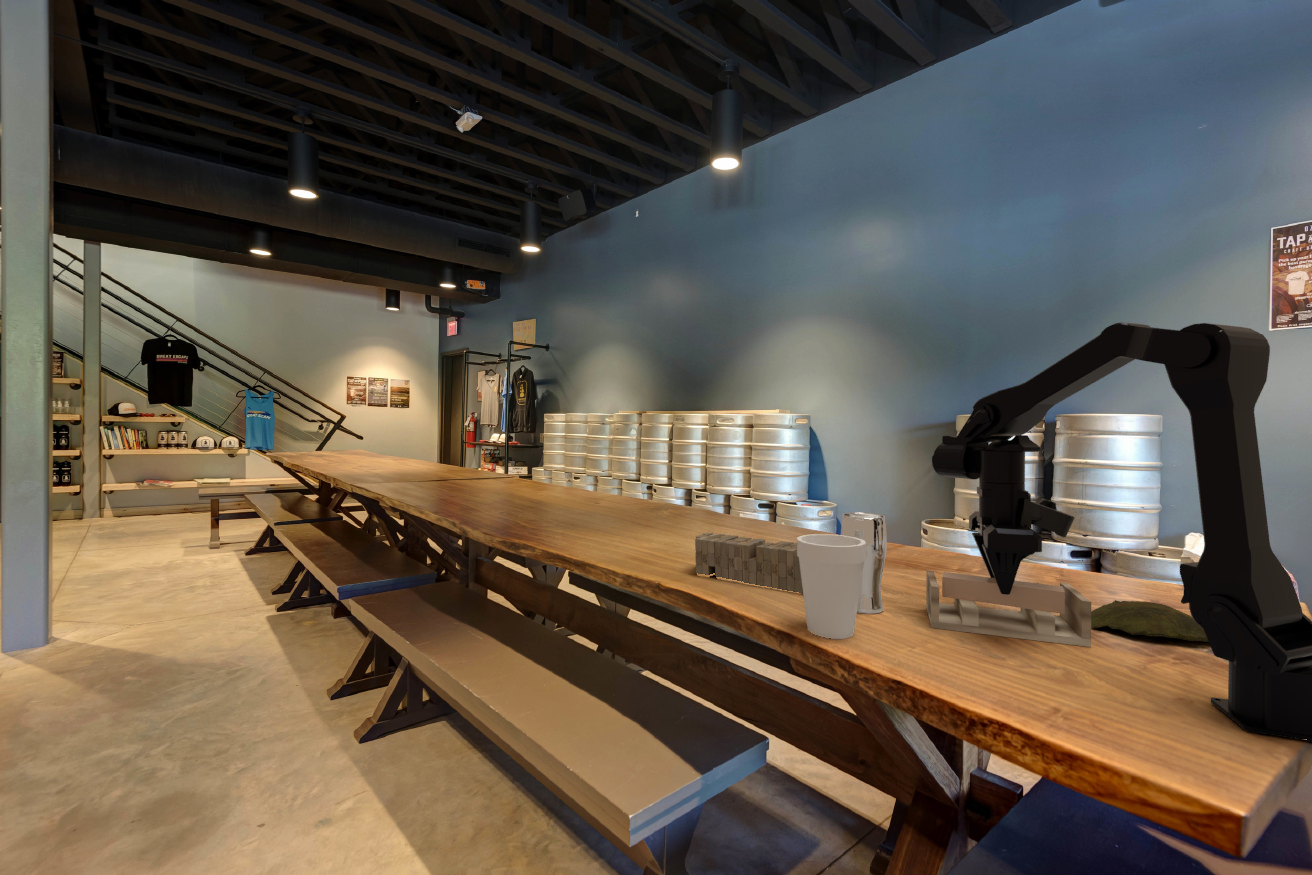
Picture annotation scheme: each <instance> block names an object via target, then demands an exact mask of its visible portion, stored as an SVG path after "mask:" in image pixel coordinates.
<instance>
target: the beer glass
mask: <svg viewBox="0 0 1312 875" xmlns="http://www.w3.org/2000/svg"><path fill="white" fill-rule="evenodd" d="M840 526H841V529H840V535H844V536H849V537H855V538H859V539H862V540H864V541H865V542H866V560H865V561H864V567H863V574H862V581H861V588H860V595H859V602H858V608H857V614H868V615H869V614H870V615H872V614H880V613H881V612H884V605H883V598H882V592H881V590H882V589H881V587H882V578H883V572H884V568H885V561H886V555H887V546H888V545H887V544H888V542H887V541H888V538H887V537H888V536H887V524H886V516H885V515H883V514H880V513H873V512H845V513H842V517H841V525H840Z"/></svg>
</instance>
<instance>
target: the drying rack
mask: <svg viewBox="0 0 1312 875" xmlns="http://www.w3.org/2000/svg"><path fill="white" fill-rule="evenodd" d="M1059 586H1063V589H1064V592H1065V614H1061V613H1059V614H1058V615H1056V614H1054V613H1053V612H1046V611H1039V610H1032V609H1025V608H1020V611H1017V610H1008V609H1007V610H1006V609H1002V608H1001V609H1000V608H990V607H981V606H978V604H977V603H976V601H969V600H962V599H955V598H953V601H954V602H953V603H954V604H953V603H944V602H943V603H941V602H940V586H939V583H938V580H937V577H936V575H935V571H931V570H926V587H925V588H926V595H925V596H926V599H925V600H926V603H925V604H926V605H925V607H926V611H927V612H926V613H927V616H928V620H929V623H930V628H931V629H940V630H946V631H956V632H964V633H970V634H971V633H973V634H979V635H987V636H996V637H1003V638H1004V637H1005V638H1014V639H1020V640H1021V639H1022V640H1029V641H1036V642H1037V641H1039V642H1047V643H1055V644H1061V645H1071V646H1080V647H1087V648H1091V647H1092V629H1091V612H1092V601H1091V600H1090V599H1089V598H1087V597H1086V596H1085V595H1083V593H1081V592H1080V591H1078V590H1077V589H1076V588H1075V587H1074V586H1072V585H1071V584H1070V583H1069V582H1059Z"/></svg>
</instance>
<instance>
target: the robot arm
mask: <svg viewBox="0 0 1312 875" xmlns="http://www.w3.org/2000/svg"><path fill="white" fill-rule="evenodd" d="M1270 346H1271V345H1270V344H1269V341H1268V339H1267V337H1266V336H1265V335H1264V334H1262V333H1260V332H1258V331H1256V330H1255V329H1253V328H1249V327H1243V326H1235V325H1226V324H1220V323H1218V324H1217V323H1208V322H1203V323H1202V322H1201V323H1193V324H1190V325H1188V326H1184V327H1182V328H1181V329H1178V330H1177V329H1170V328H1169V329H1168V328H1161V327H1160V328H1159V327H1151V326H1150V325H1148V324H1143V323H1136V322H1135V323H1134V322H1116V323H1113V324H1111V325H1109V326H1107V327H1105V328H1104V329H1103V330H1102V331H1101V333H1100V334H1099V335H1097V336H1096V337H1094V338H1092V339H1091V340H1089V341H1087V342H1086V343H1085V344H1083V345H1082V346H1081V345H1080V347H1078V348H1076V349H1075V350H1073V351H1072V352H1070V353H1068V355H1065V356H1064V357H1062V358H1060V360H1058V361H1056V362H1055V363H1053V364H1052V365H1050V366H1049V367H1047V368H1045V369H1044V370H1042V371H1040V372H1039V373H1038V374H1036V375H1035V376H1033V377H1031V378H1030V379H1028V380H1026V381H1025V382H1022V383H1020V384H1018V385H1014V386H1011V387H1007V388H1004V389H999V390H997V391H995V392H993V393H990V394H987V395H986V396H983V397H981V398H979V399H978V400H977V401H975V403H974V404H973V406H972V412H971V413H970V415H969V417H968V418H967V420H966V422H965V423H964V424H963V426H962V427H961V429H960V430H959V433H958V434H957V435H942V438H941V439H942V442H941V443H940V444H938V445H937V446H936V447H935V450H934V452H933V455H932V456H931V464H932V467H933V470H934V471H935V473H936V474H937V475H939V476H941V477H944V478H952V479H953V478H954V479H964V480H965V479H966V480H978V479H979V480H978V482H979V483H978V484H979V485H978V486H976V494H977V495H978V511H977V510H976V511H974V512H972V513H971V514H970V515H969V516H968V529H969V530H970V531H976V530H977V532H971V535H972V537H973V540H974V542H975V545H976V547H977V549H978V550H979V553H980V556H981V558H982V560H983V563H984V565H985V568H986V569H987V572H988V575H989V578H995V580H996V582H997V585H998V588H999V590H1000V592H1001V594H1006V595H1009V594H1010V593H1011V590H1012V587H1013V583H1014V581H1016V580H1015V579H1016V577H1017V574H1018V570H1019V567H1020V564H1021V562H1022V561H1023V560H1024V559H1026V558H1028V557H1029V556H1032V555H1034V554H1035V553H1042V552H1043V538H1042V536H1041V535H1040V534H1038V533H1037V532H1036V531H1035V530H1034V529H1032V527H1033V526H1035V527H1038V528H1041V529H1044V530H1047V531H1050V532H1053V533H1055V535H1056V536H1059V537H1062V538H1067V535H1068V534H1069V531H1070V529H1071V527H1072V524H1073V523H1074V521H1075V518H1076V517H1075V516H1073V515H1071V514H1069V513H1066V512H1063V511H1061V510H1057V503H1056V502H1054V501H1051V500H1049V499H1046V498H1043V497H1041V498H1040V499H1039V500H1037V501H1036V502H1034V501H1032V495H1031V493H1030V492H1029V491H1028V490H1026V483H1025V482H1026V453H1039V452H1040V451H1041V450H1042V449H1041V446H1039V445H1038V444H1037V443H1036V442H1034V441H1033V440H1031V438H1030V437H1029V435H1027V434H1026V433H1028V432H1029V431H1030V430H1032V429H1033V428H1035V427H1036V426H1037V425H1038V424H1039V423H1040V422H1042V421H1043V420H1044V419H1045V417H1046V415H1047V414H1048V411H1050V409H1052V408H1053V407H1054V406H1056V405H1057V404H1058V403H1061V402H1062V401H1064V400H1066V399H1068V398H1070V397H1071V396H1073V395H1075V394H1076V393H1078V392H1080V391H1082V390H1083V389H1086V388H1087V387H1089V386H1090V385H1093V384H1094V383H1096V382H1097V381H1100V380H1101V379H1103V378H1105V377H1106V376H1108V375H1110V374H1111V373H1112V374H1113V373H1114V372H1115V371H1117V370H1119V369H1120V368H1122V367H1124V366H1126V365H1128V364H1129V363H1131V362H1133V361H1135V360H1138V361H1143V362H1147V363H1148V362H1149V363H1155V364H1160V365H1164V367H1165V370H1166V374H1167V378H1168V379H1169V380H1168V381H1169V383H1170V386H1171V388H1172V390H1173V391H1174V392H1175V394H1176V395H1177V396H1178V398H1179V399H1180V400H1181V402H1182V403H1183V404H1184V406H1185V408H1186V409H1187V411H1188V413H1189V415H1190V416H1189V417H1190V425H1191V432H1192V443H1193V453H1194V461H1195V469H1196V479H1197V488H1198V498H1199V499H1198V500H1199V507H1200V516H1201V525H1202V533H1203V544H1204V546H1203V551H1202V553H1201V555H1200V558H1199V560H1198V561H1197V562H1196V561H1195V562H1187V563H1186V562H1185V563H1181V564H1179V575H1180V578H1181V582H1182V585H1183V594H1182V598H1181V601H1180V603H1181V604H1183V605H1185V604H1188V607H1189V608H1188V610H1189V612H1190V616H1191V617H1193V619H1194V621H1195V622H1196V623H1197V624H1199V625H1200V626H1201V627H1202V628H1203V629H1204V631H1205V634H1206V636H1207V639H1208V641H1209V642H1208V644H1209V646H1210V648H1211V651H1212V653H1213V656H1214V657H1215V658H1218V659H1223V660H1224V661H1228V677H1227V678H1228V679H1227V680H1228V686H1227V687H1228V688H1227V689H1228V691H1227V692H1228V693H1227V695H1228V696H1227V698H1221V697H1210V703H1211V704H1212V705H1213V706H1214V707H1215V708H1217V709H1218V710H1219V711H1221V712H1222V713H1224V715H1225V716H1227V717H1228V718H1229V719H1230V720H1232V721H1233V722H1234V723H1236V724H1237V725H1238V726H1239V727H1240V728H1241V729H1242V730H1245V731H1247V732H1251V733H1256V734H1263V735H1270V736H1275V737H1276V736H1277V737H1283V738H1289V739H1294V738H1295V740H1301V739H1307V740H1308V742H1312V620H1311V619H1310V618H1309V617H1308V616H1307V615H1306V614H1305V613H1303V608H1302V605H1301V602H1300V600H1299V597H1298V594H1297V592H1296V588H1295V586H1294V583H1293V580H1292V577H1291V576H1290V574H1289V573H1288V572H1287V570H1286V568H1284V566H1283V564H1282V563H1281V561H1280V560H1279V559H1278V557H1277V556H1276V554H1275V553H1274V551H1273V550H1272V546H1271V542H1270V541H1271V540H1270V534H1269V526H1268V517H1267V510H1266V509H1267V507H1266V500H1265V499H1266V498H1265V491H1264V484H1263V475H1262V467H1261V466H1262V465H1261V460H1260V459H1261V458H1260V449H1259V442H1258V434H1257V425H1256V424H1257V423H1256V416H1255V409H1256V408H1255V407H1256V404H1257V403H1258V400H1259V398H1260V396H1261V393H1262V391H1263V389H1264V386H1265V385H1266V382H1267V379H1268V371H1269V364H1270V362H1269V361H1270V355H1271V347H1270ZM1032 525H1033V526H1032ZM1307 740H1306V741H1307Z"/></svg>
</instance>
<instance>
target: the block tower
mask: <svg viewBox="0 0 1312 875" xmlns="http://www.w3.org/2000/svg"><path fill="white" fill-rule="evenodd" d="M694 541H695V542H694V545H695V547H694V548H695V574H696V573H698V574H705V575H710V574H713V573H715V575H714V576H716V577H722V578H726V579H732V580H737V581H741V582H742V581H743V582H744V583H749V584H755V585H760V586H767V587H772V588H777V589H782V590H787V591H793V592H799V593H802V594H801V595H803V588H802V579H801V571H800V563H799V557H798V556H797V542H793V541H792V542H790V541H784V540H782V541H777V542H766V539H763V538H752V537H744V536H739V535H730V534H720V533H719V534H718V533H714V532H706V533H702V534H699V535H696V536H695V539H694Z"/></svg>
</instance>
